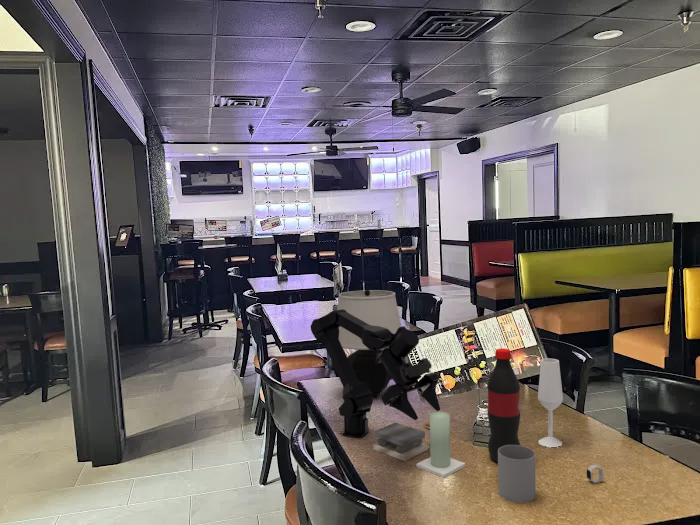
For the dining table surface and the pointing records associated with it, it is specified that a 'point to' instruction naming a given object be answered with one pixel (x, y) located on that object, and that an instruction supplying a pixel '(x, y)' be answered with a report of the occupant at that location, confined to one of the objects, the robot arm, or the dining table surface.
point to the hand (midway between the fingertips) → (428, 414)
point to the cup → (516, 473)
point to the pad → (441, 472)
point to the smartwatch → (590, 473)
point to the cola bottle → (503, 404)
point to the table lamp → (375, 312)
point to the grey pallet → (400, 441)
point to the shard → (427, 424)
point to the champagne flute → (550, 396)
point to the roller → (440, 439)
